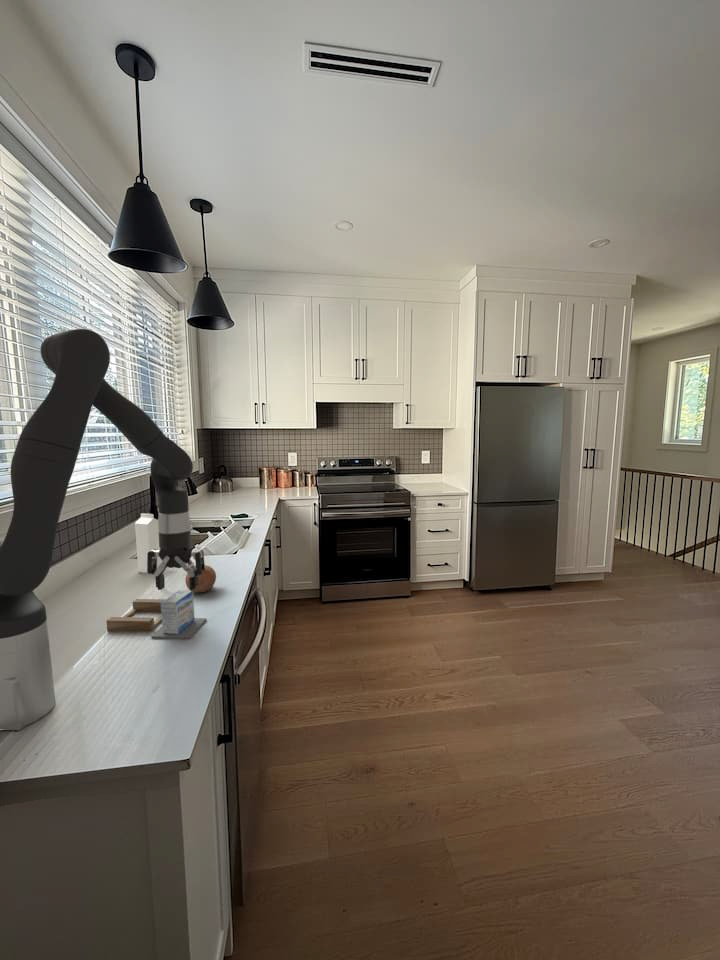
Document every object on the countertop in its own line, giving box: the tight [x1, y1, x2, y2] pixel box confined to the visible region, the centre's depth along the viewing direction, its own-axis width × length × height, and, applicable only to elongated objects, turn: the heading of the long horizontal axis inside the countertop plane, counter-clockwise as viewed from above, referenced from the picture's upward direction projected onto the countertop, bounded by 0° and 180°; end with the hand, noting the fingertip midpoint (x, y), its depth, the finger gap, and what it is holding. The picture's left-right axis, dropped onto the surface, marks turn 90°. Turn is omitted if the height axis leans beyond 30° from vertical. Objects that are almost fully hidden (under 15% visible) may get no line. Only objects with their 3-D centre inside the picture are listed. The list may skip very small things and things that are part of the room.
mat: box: [150, 617, 207, 640], centre depth 105 cm, size 10×10×1 cm
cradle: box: [106, 598, 166, 633], centre depth 110 cm, size 13×12×3 cm
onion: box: [184, 564, 217, 594], centre depth 130 cm, size 10×9×10 cm
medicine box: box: [160, 589, 196, 634], centre depth 105 cm, size 8×4×9 cm, turn 171°
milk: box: [134, 512, 162, 574], centre depth 149 cm, size 6×6×22 cm
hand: (177, 589), depth 104 cm, fingers open, 8 cm apart
